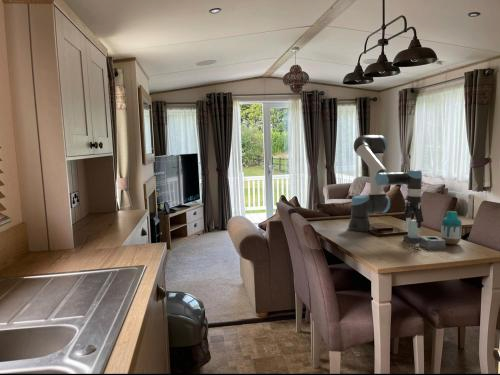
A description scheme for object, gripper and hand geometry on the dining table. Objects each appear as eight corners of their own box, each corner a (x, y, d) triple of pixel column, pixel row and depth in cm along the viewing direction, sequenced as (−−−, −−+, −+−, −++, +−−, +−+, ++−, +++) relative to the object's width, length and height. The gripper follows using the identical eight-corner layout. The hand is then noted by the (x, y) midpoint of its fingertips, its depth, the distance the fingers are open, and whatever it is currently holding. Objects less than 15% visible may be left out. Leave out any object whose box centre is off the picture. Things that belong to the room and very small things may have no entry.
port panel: (419, 244, 227) (419, 235, 226) (436, 244, 227) (436, 235, 226) (427, 249, 217) (427, 239, 216) (445, 249, 217) (445, 239, 216)
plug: (407, 240, 238) (408, 219, 236) (414, 240, 238) (415, 219, 236) (410, 241, 234) (411, 220, 232) (417, 241, 234) (418, 220, 232)
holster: (403, 239, 239) (403, 235, 239) (415, 239, 240) (415, 235, 239) (408, 242, 232) (409, 238, 232) (421, 242, 232) (421, 238, 232)
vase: (449, 247, 221) (451, 213, 219) (436, 242, 232) (437, 210, 229) (465, 245, 224) (466, 212, 222) (451, 241, 234) (452, 209, 232)
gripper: (399, 193, 245) (398, 226, 247) (417, 198, 220) (416, 235, 222) (411, 193, 245) (410, 226, 247) (430, 198, 220) (429, 235, 222)
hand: (413, 230), depth 235 cm, fingers open, 13 cm apart
